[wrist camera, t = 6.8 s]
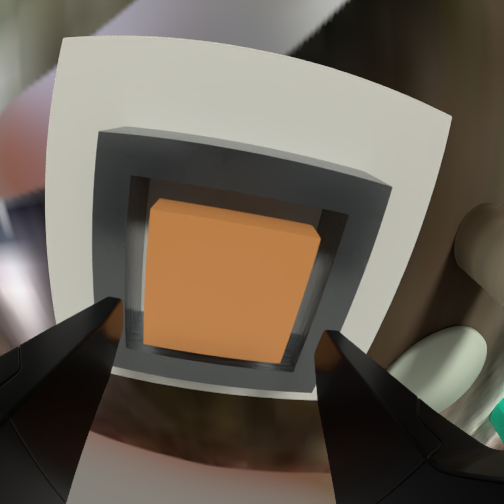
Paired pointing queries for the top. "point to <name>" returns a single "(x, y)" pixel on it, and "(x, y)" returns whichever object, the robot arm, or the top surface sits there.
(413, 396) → the robot arm
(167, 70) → the white flat square slab
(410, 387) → the mat
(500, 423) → the candle
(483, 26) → the top surface
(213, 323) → the button
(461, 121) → the top surface
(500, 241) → the tan cylinder
